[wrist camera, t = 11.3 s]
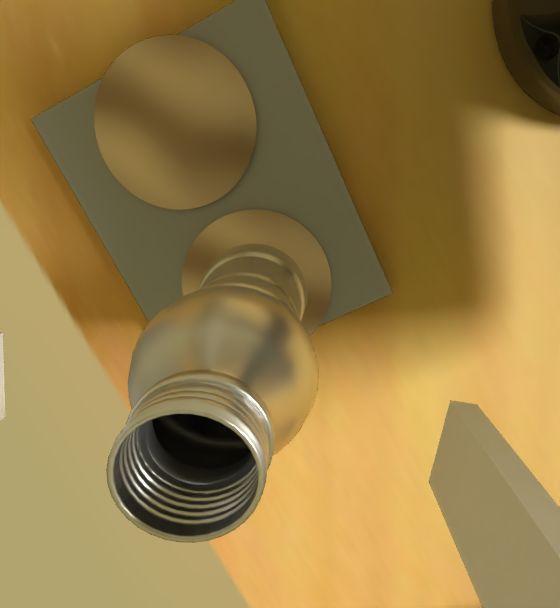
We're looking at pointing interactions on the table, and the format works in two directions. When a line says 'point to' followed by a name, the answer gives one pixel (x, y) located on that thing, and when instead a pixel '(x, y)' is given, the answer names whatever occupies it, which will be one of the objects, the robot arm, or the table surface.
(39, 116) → the board
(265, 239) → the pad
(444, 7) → the table surface
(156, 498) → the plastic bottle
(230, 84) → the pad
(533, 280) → the table surface
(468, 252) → the table surface
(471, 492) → the robot arm
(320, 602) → the table surface
